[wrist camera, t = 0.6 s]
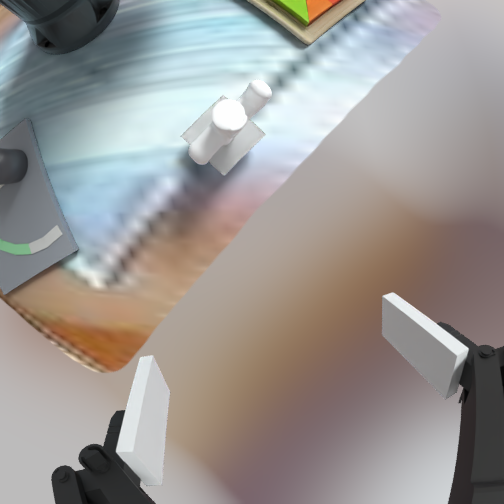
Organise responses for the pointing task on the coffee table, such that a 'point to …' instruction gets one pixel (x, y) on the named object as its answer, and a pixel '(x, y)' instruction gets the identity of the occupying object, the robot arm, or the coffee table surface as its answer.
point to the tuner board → (30, 217)
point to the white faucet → (228, 129)
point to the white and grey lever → (12, 166)
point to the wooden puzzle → (306, 15)
